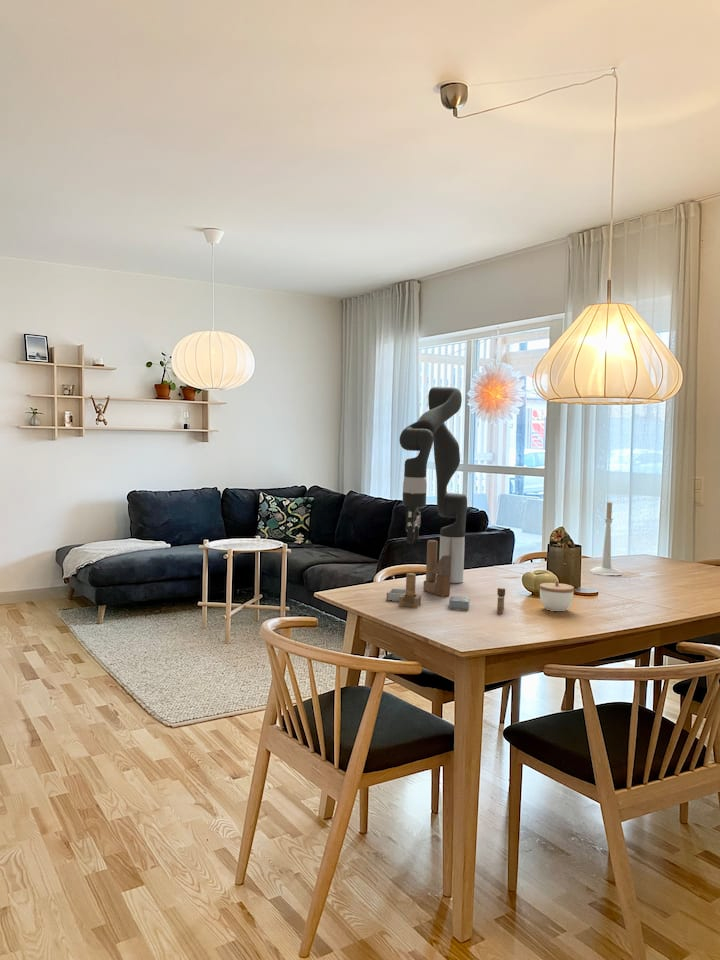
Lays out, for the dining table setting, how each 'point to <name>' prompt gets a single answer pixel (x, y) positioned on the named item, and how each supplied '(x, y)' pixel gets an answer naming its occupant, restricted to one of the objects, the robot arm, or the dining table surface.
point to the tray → (395, 594)
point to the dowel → (410, 584)
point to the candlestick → (607, 546)
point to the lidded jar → (556, 596)
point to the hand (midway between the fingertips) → (412, 541)
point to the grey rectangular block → (459, 603)
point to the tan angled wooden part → (437, 571)
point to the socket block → (410, 600)
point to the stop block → (500, 600)
